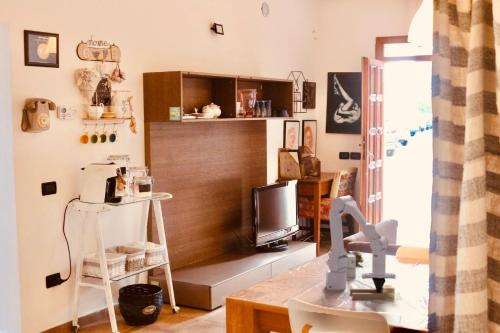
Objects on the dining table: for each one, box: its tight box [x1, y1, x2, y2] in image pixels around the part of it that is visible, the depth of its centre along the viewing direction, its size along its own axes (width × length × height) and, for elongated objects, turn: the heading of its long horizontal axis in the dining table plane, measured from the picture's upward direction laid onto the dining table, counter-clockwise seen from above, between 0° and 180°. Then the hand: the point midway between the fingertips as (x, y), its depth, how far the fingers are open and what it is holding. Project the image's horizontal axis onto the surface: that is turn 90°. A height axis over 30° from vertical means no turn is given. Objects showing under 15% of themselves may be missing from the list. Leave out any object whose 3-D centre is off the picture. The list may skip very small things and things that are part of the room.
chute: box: [349, 288, 404, 301], centre depth 271 cm, size 22×9×3 cm, turn 89°
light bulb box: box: [346, 254, 357, 278], centre depth 309 cm, size 11×7×11 cm, turn 92°
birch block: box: [381, 284, 396, 298], centre depth 271 cm, size 5×5×4 cm
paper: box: [327, 245, 365, 264], centre depth 339 cm, size 25×16×8 cm, turn 55°
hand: (378, 294), depth 271 cm, fingers closed
